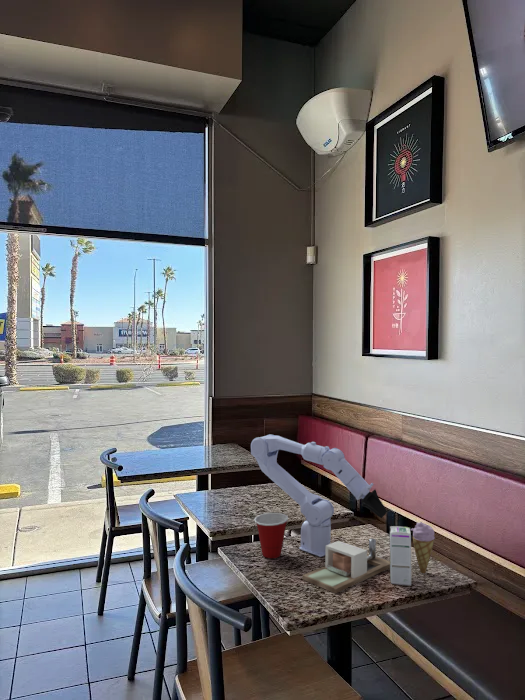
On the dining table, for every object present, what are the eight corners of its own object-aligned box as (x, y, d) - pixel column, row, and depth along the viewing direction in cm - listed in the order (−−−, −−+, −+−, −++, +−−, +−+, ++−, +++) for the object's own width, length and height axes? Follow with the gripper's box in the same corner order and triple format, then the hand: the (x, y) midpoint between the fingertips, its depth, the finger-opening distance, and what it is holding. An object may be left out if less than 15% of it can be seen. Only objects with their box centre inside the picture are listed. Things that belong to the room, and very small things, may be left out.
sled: (327, 569, 155) (327, 550, 155) (365, 553, 167) (365, 535, 167) (345, 576, 150) (346, 557, 150) (383, 559, 162) (383, 541, 162)
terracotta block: (332, 567, 154) (332, 553, 154) (341, 564, 157) (341, 550, 157) (343, 572, 151) (343, 557, 151) (352, 568, 154) (352, 554, 154)
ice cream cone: (406, 571, 157) (406, 520, 157) (416, 565, 162) (416, 516, 162) (427, 578, 153) (428, 525, 153) (437, 572, 157) (437, 520, 157)
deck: (302, 579, 151) (302, 574, 151) (360, 555, 170) (360, 551, 170) (335, 593, 143) (335, 588, 143) (392, 566, 161) (392, 562, 161)
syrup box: (411, 585, 148) (412, 533, 148) (389, 583, 149) (390, 531, 149) (410, 577, 154) (410, 526, 154) (389, 575, 155) (389, 525, 155)
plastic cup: (248, 551, 172) (248, 514, 172) (279, 546, 177) (279, 510, 177) (261, 563, 162) (262, 524, 162) (293, 558, 167) (294, 520, 167)
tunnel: (325, 567, 157) (325, 545, 157) (338, 562, 161) (338, 540, 161) (354, 578, 149) (354, 555, 149) (366, 572, 154) (367, 550, 154)
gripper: (362, 468, 161) (395, 503, 156) (362, 475, 175) (392, 508, 169) (345, 484, 160) (377, 520, 155) (346, 490, 174) (376, 523, 169)
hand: (384, 515), depth 162 cm, fingers open, 7 cm apart
